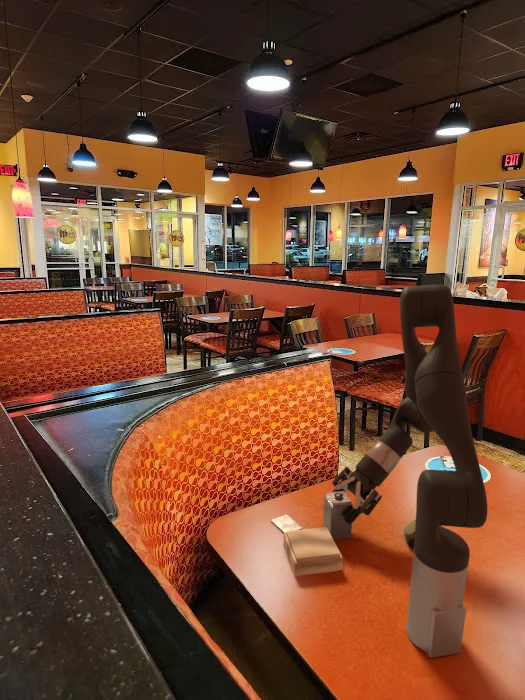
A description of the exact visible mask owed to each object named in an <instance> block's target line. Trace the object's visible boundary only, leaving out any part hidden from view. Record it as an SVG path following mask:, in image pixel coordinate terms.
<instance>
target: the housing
mask: <svg viewBox="0 0 525 700" xmlns="http://www.w3.org/2000/svg"><path fill="white" fill-rule="evenodd" d="M323 500H324V501H323V522H322V524H323V525H322V527H326V528H327V529H328V531H329V533H330V534H331V536H332V538H333V540H334V541H335V539H337V540H344V539H343V538H346V539H352V530H353V523H351V524H348V523H347V522H346V521H345V520H344V517H345V516H346V515H347V514H348V513H349V511H350V510H351V509H352V508H354V505H353V503H352V500H351V499H350V497H349V496H348V494H347V492H345V491H341V492H326V494H325V495H324V499H323Z"/></svg>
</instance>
